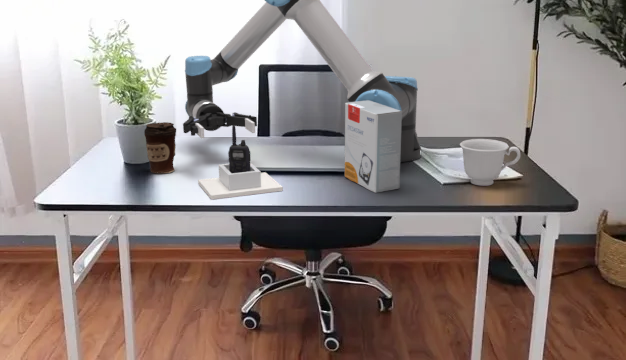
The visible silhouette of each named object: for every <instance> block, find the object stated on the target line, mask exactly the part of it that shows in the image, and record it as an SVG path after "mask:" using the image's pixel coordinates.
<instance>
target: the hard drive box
mask: <svg viewBox="0 0 626 360" xmlns="http://www.w3.org/2000/svg"><path fill="white" fill-rule="evenodd" d="M401 122H402V111H400V110H397V109H394V108H391V107H388V106H385V105H382V104H379V103H376V102H373V101H370V100H366V101H356V102H349V101H348V102H344V177H345V178H346V179H348V180H349V181H351V182H354V183H355V184H358V185H360V186H362V187H363V188H365V189H366V190H369V191H371V192H373V193H375V194H376V193H382V192H387V191H393V190H397V189H400V183H401V180H400V179H401V177H400V176H401V162H400V155H401Z"/></svg>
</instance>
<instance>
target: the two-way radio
mask: <svg viewBox="0 0 626 360" xmlns="http://www.w3.org/2000/svg"><path fill="white" fill-rule="evenodd" d="M231 128H232V129H231V137H232V139H231V141H232V144H231V145H230V146H229V150H228V153H227V154H228V164H229V171H230V172H231V173H241V172H250V171H251V167H250V163H251V161H252V160H251V157H252V156H251V151H250V147H249V146H248V145H247V142H246V140H245V139H242V140H241V141H240V143H239V144H238V143H237V132H236V126H235V125H233V126H231Z"/></svg>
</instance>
